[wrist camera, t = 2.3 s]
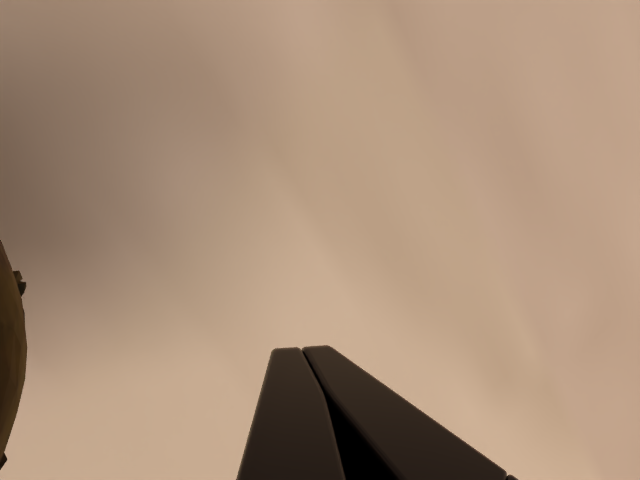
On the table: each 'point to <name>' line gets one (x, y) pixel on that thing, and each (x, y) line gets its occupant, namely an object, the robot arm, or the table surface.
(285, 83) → the table surface
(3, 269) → the potato
